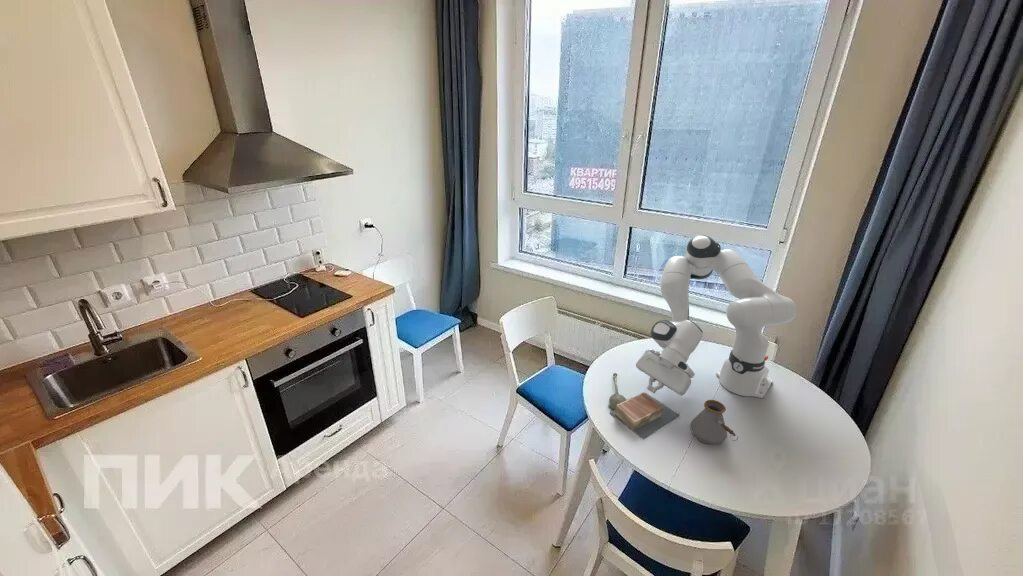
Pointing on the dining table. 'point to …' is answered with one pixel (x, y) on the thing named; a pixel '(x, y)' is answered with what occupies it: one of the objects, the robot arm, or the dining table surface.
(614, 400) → the soupspoon
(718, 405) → the coffee pot
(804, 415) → the dining table surface
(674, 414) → the charcoal rubber mat
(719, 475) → the dining table surface
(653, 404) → the brown wooden block
